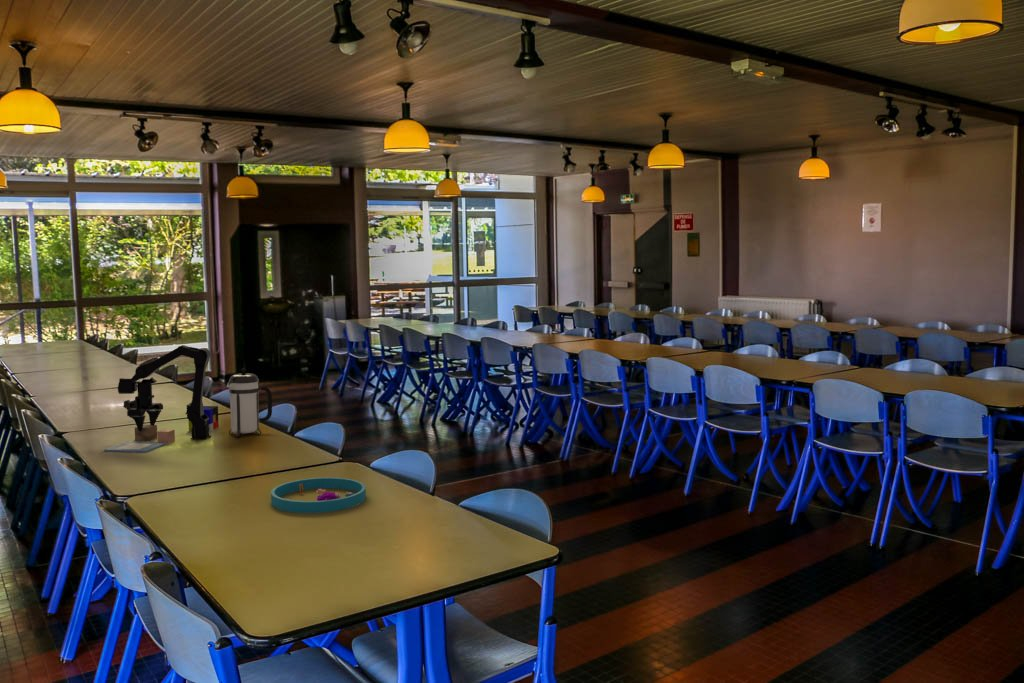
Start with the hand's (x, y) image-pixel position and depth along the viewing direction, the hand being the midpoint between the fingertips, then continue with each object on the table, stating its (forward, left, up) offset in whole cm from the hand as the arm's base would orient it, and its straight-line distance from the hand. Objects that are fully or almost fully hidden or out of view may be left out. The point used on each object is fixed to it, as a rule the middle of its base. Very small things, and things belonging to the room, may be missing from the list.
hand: (146, 429), depth 360 cm
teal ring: (-107, +79, -5) cm, 133 cm away
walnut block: (0, 0, -5) cm, 5 cm away
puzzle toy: (-13, -26, -5) cm, 29 cm away
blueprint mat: (-5, +16, -5) cm, 17 cm away
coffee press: (-38, -18, -5) cm, 42 cm away
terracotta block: (-11, +3, -5) cm, 12 cm away
